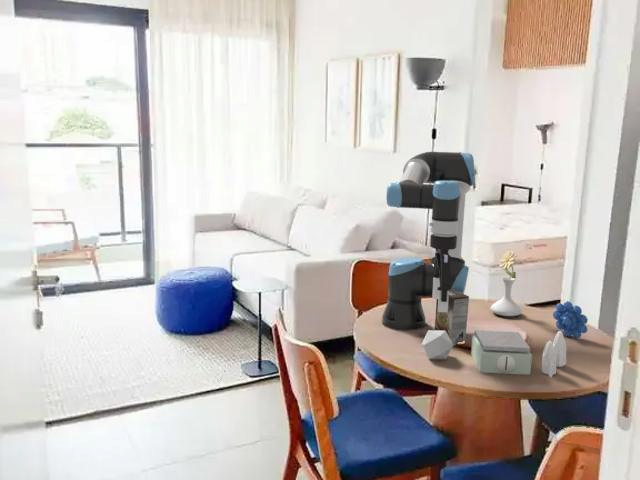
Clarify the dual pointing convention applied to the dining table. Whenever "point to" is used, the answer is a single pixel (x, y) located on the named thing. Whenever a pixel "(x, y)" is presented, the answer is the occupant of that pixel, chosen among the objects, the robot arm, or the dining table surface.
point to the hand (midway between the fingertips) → (439, 305)
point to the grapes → (570, 319)
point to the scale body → (500, 360)
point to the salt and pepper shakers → (554, 355)
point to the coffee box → (454, 317)
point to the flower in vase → (507, 289)
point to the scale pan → (501, 341)
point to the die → (437, 344)
